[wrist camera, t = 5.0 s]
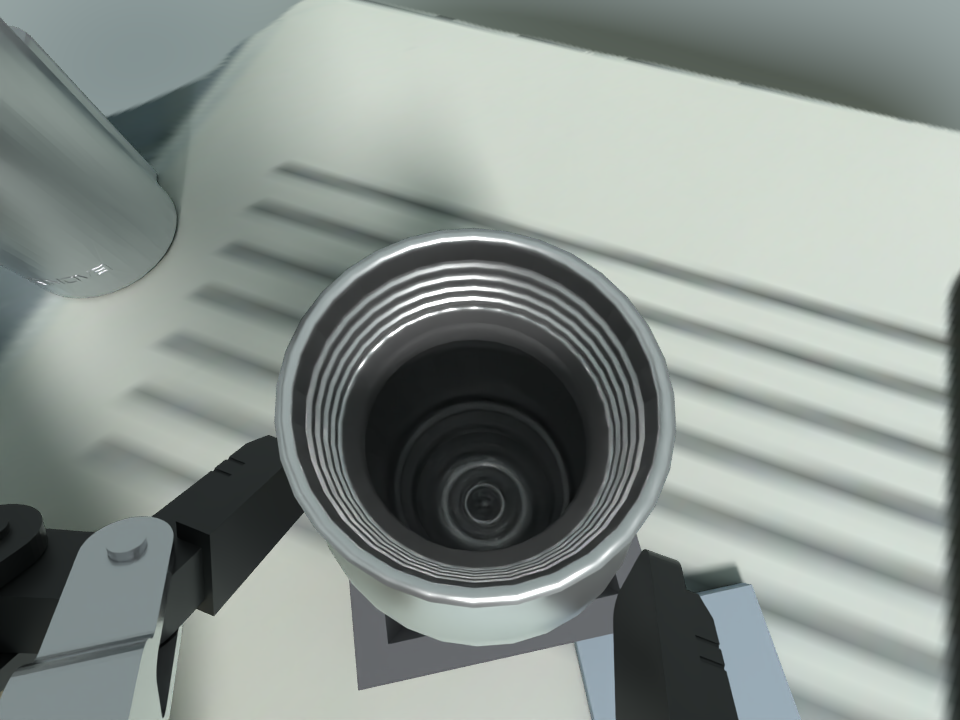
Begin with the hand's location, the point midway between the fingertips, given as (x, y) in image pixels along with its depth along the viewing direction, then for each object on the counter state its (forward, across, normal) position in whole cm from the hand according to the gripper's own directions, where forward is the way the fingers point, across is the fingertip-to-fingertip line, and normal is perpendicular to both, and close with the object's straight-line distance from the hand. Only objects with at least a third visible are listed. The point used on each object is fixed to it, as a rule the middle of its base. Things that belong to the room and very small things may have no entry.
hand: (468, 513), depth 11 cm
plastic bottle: (+10, 0, +8) cm, 13 cm away
